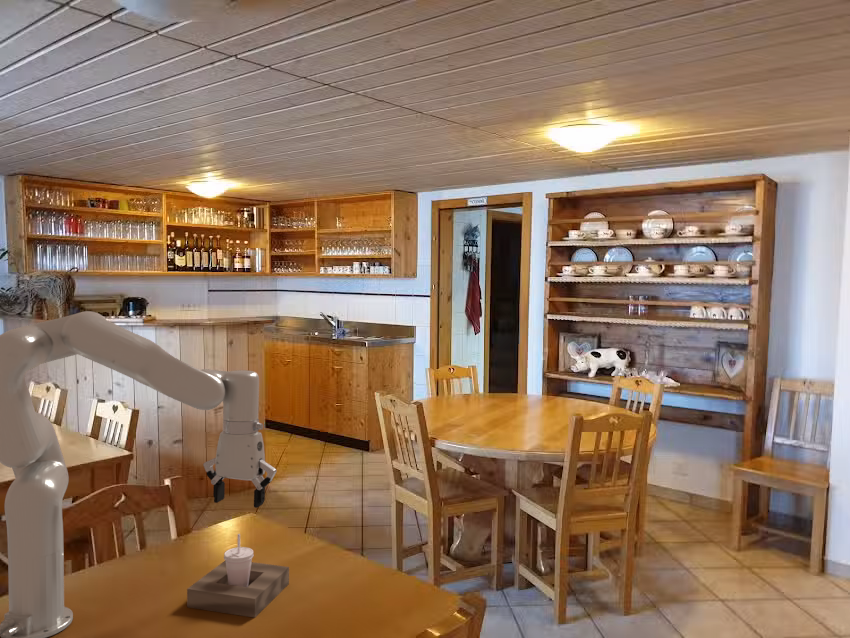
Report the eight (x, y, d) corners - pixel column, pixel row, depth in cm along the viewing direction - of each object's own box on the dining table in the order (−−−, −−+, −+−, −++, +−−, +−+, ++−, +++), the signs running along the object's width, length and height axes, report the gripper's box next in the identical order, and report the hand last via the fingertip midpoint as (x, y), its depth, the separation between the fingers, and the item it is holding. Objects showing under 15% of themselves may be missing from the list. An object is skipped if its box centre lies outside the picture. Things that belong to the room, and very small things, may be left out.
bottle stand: (254, 617, 136) (255, 598, 135) (187, 607, 139) (187, 588, 139) (288, 583, 151) (289, 567, 151) (227, 575, 155) (227, 558, 155)
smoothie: (222, 603, 141) (223, 540, 141) (224, 589, 148) (224, 529, 147) (253, 600, 143) (253, 537, 142) (253, 587, 149) (253, 527, 149)
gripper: (284, 426, 145) (282, 502, 146) (214, 420, 149) (213, 494, 150) (268, 433, 138) (266, 513, 138) (195, 426, 142) (194, 504, 143)
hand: (238, 503), depth 144 cm, fingers open, 9 cm apart
